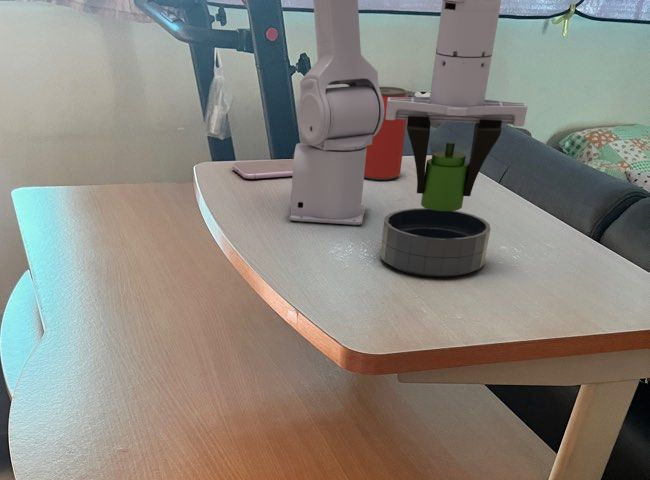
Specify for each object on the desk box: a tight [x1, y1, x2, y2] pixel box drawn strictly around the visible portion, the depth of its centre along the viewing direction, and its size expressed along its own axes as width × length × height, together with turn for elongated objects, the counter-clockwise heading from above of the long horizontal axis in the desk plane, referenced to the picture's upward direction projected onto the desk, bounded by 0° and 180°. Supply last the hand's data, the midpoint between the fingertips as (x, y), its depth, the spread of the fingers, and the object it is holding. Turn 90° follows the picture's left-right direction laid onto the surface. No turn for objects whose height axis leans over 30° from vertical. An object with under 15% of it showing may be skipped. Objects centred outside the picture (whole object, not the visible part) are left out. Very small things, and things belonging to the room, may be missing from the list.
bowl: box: [379, 207, 491, 278], centre depth 97 cm, size 12×12×4 cm
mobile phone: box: [232, 158, 294, 180], centre depth 130 cm, size 8×1×15 cm
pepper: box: [420, 141, 469, 211], centre depth 92 cm, size 5×5×7 cm
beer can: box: [364, 86, 408, 181], centre depth 126 cm, size 7×7×12 cm
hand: (442, 192), depth 93 cm, fingers closed on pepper, 4 cm apart
